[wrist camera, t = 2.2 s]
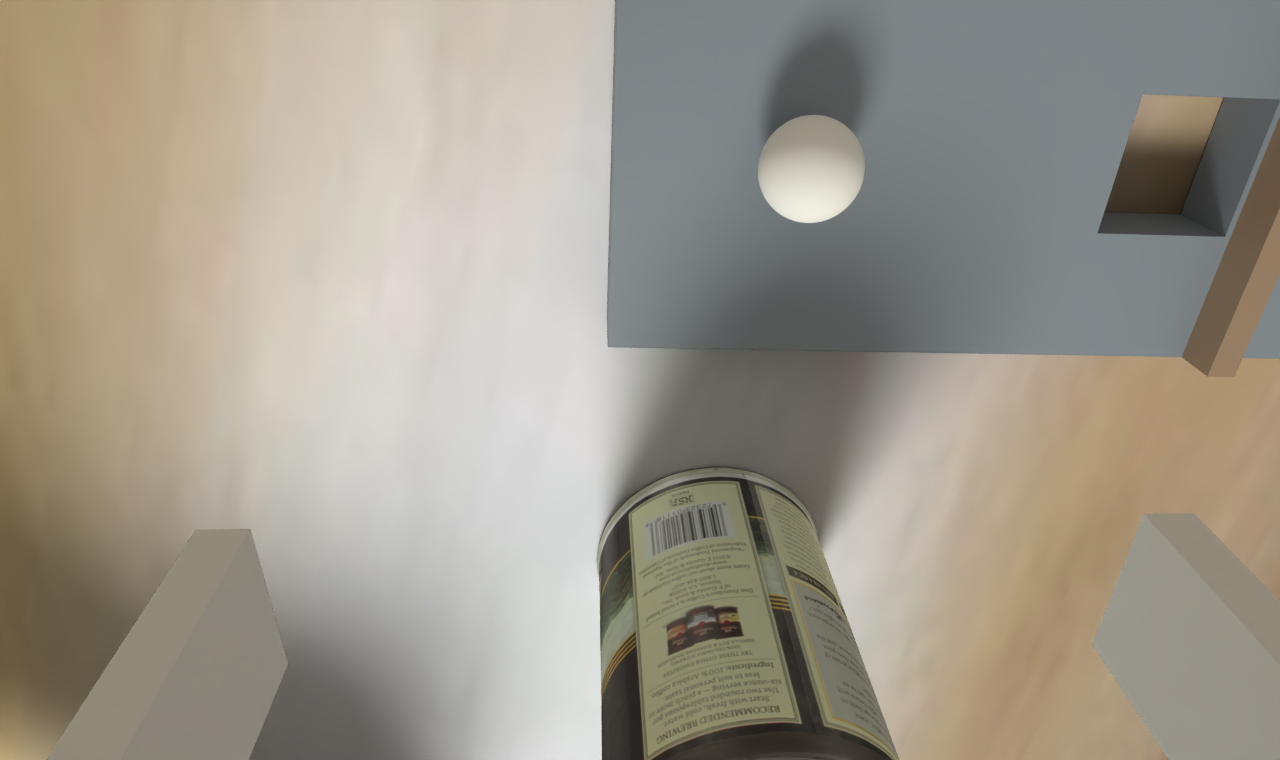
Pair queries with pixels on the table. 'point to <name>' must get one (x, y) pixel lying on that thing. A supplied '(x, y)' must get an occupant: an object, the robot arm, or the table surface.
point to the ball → (811, 168)
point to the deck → (944, 178)
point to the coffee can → (727, 630)
